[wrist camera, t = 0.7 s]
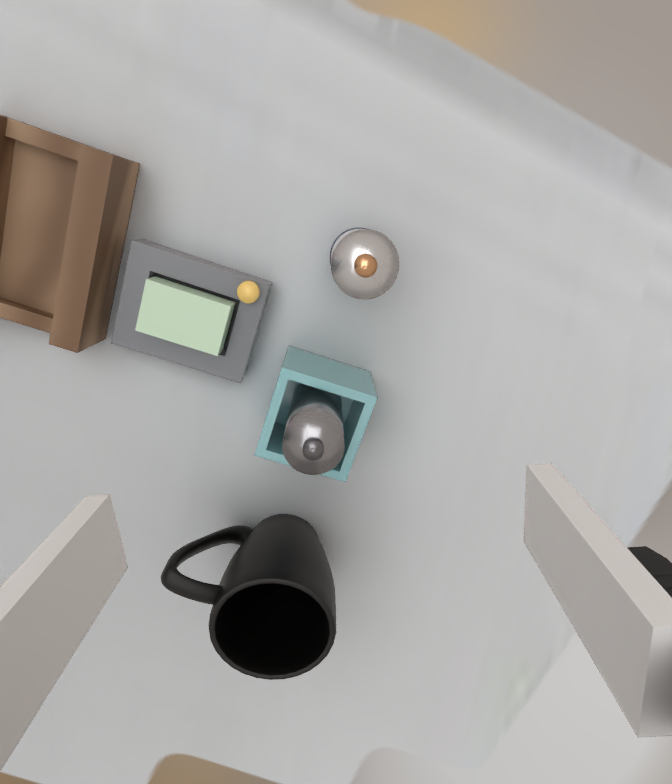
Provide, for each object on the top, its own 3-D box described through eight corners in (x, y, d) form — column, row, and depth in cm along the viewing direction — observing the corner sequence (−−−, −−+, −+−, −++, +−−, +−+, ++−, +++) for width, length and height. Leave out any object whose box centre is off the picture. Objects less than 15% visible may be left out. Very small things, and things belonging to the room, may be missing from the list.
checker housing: (122, 336, 36) (107, 345, 33) (142, 239, 34) (127, 240, 31) (245, 375, 37) (239, 385, 34) (271, 282, 35) (267, 286, 32)
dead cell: (285, 415, 37) (273, 469, 29) (300, 370, 36) (291, 413, 28) (332, 429, 37) (333, 487, 29) (348, 385, 36) (353, 432, 28)
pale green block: (144, 325, 34) (135, 330, 32) (155, 276, 33) (146, 279, 31) (222, 349, 35) (217, 356, 33) (235, 302, 34) (230, 306, 32)
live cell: (322, 273, 35) (320, 288, 26) (340, 219, 34) (343, 218, 25) (373, 290, 35) (387, 311, 27) (392, 238, 34) (411, 242, 26)
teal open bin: (265, 422, 38) (254, 455, 32) (288, 345, 36) (281, 367, 31) (343, 445, 39) (345, 482, 33) (370, 371, 37) (377, 397, 31)
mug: (219, 460, 39) (186, 531, 30) (353, 526, 41) (360, 611, 32) (175, 540, 41) (132, 628, 32) (304, 598, 43) (298, 697, 34)
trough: (-22, 299, 35) (-67, 308, 31) (-1, 114, 31) (-49, 98, 27) (105, 338, 36) (77, 352, 32) (139, 163, 32) (113, 155, 28)
